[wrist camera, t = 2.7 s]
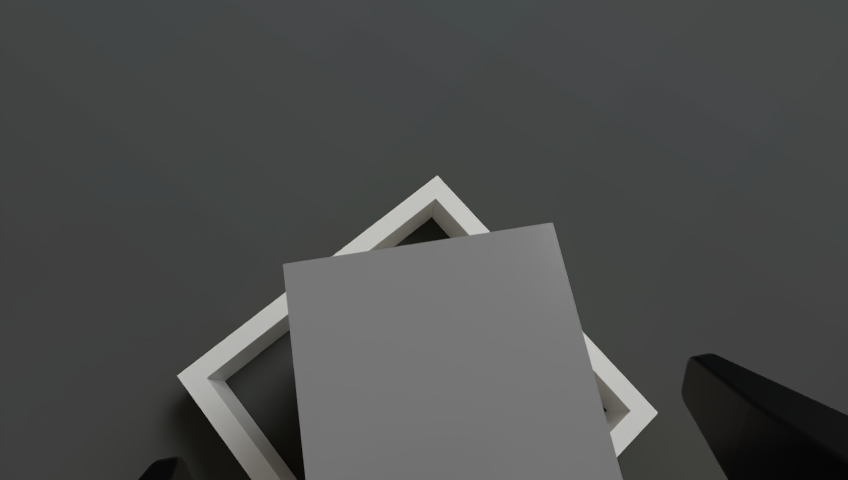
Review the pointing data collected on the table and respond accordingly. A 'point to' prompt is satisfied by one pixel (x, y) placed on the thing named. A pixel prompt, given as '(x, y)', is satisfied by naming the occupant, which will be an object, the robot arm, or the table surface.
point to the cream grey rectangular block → (446, 363)
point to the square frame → (234, 352)
